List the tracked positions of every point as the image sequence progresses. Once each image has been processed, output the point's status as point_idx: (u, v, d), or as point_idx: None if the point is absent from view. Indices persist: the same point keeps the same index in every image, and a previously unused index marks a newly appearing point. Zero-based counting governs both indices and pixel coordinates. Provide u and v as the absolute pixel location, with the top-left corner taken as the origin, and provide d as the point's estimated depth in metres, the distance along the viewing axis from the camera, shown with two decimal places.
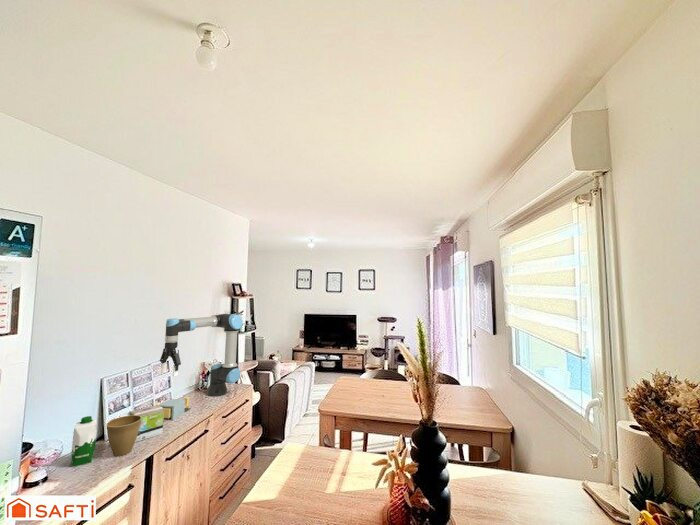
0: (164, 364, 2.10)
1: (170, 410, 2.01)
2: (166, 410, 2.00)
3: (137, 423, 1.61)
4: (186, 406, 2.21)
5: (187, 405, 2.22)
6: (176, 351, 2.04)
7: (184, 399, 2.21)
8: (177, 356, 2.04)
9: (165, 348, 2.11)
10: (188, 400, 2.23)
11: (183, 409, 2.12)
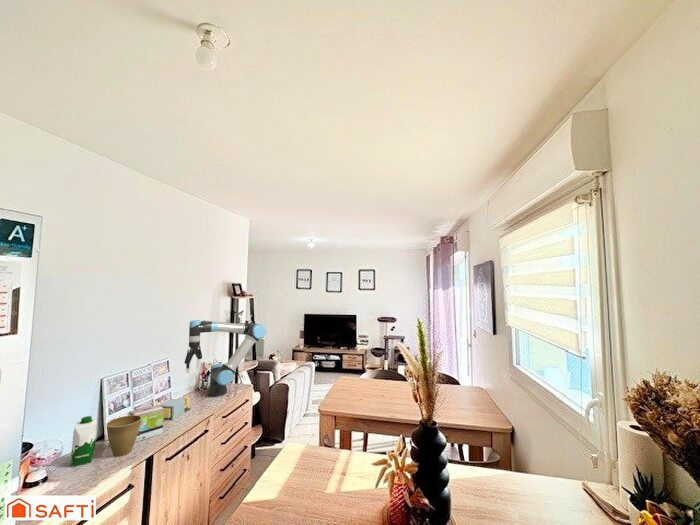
0: (198, 360, 2.38)
1: (170, 410, 2.01)
2: (166, 410, 2.00)
3: (137, 423, 1.61)
4: (186, 406, 2.21)
5: (187, 405, 2.22)
6: (188, 350, 2.25)
7: (184, 399, 2.21)
8: (187, 355, 2.24)
9: None
10: (188, 400, 2.23)
11: (183, 409, 2.12)
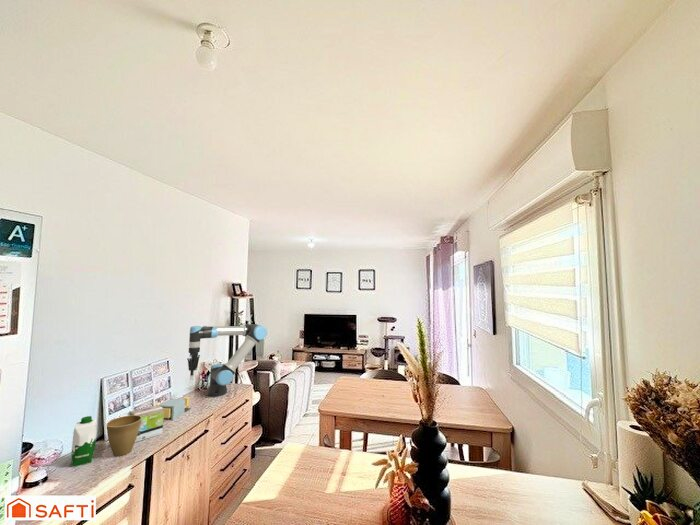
0: None
1: (170, 410, 2.01)
2: (166, 410, 2.00)
3: (137, 423, 1.61)
4: (186, 406, 2.21)
5: (187, 405, 2.22)
6: (188, 359, 2.26)
7: (184, 399, 2.21)
8: (189, 363, 2.27)
9: (197, 354, 2.38)
10: (188, 400, 2.23)
11: (183, 409, 2.12)
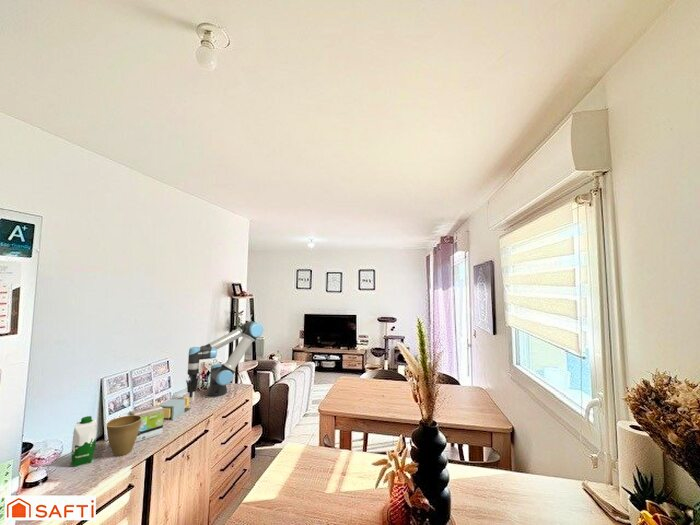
0: None
1: (170, 410, 2.01)
2: (166, 410, 2.00)
3: (137, 423, 1.61)
4: (186, 406, 2.21)
5: (187, 405, 2.22)
6: (187, 381, 2.25)
7: (184, 399, 2.21)
8: (188, 385, 2.26)
9: (196, 375, 2.37)
10: (188, 400, 2.23)
11: (183, 409, 2.12)
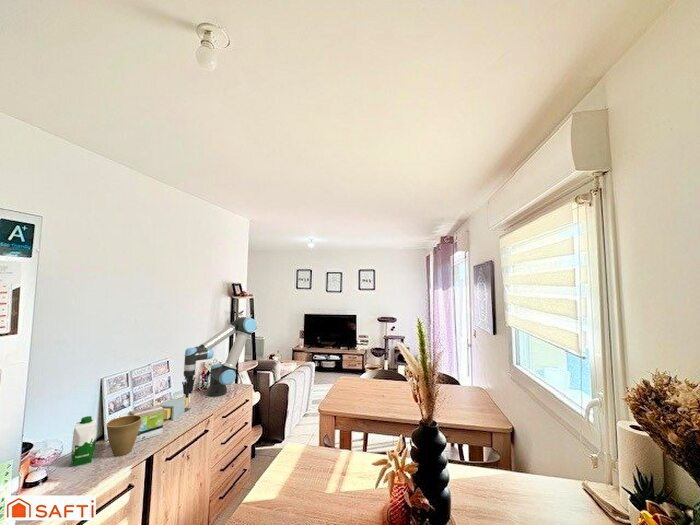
0: None
1: (169, 411, 2.00)
2: (164, 411, 1.99)
3: (137, 423, 1.61)
4: (185, 407, 2.19)
5: (186, 406, 2.20)
6: (183, 383, 2.20)
7: None
8: (184, 387, 2.21)
9: None
10: (187, 401, 2.22)
11: (183, 409, 2.12)
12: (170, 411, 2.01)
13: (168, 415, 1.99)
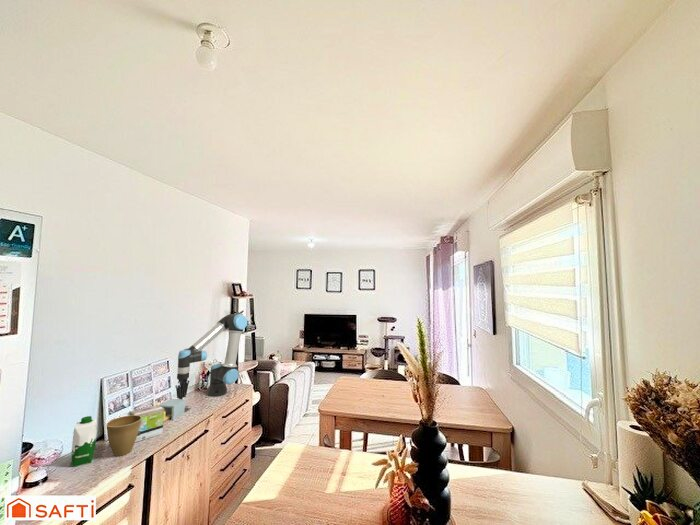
0: None
1: None
2: None
3: (137, 423, 1.61)
4: None
5: None
6: (176, 387, 2.13)
7: None
8: (178, 391, 2.13)
9: (187, 380, 2.24)
10: None
11: (183, 409, 2.12)
12: None
13: None
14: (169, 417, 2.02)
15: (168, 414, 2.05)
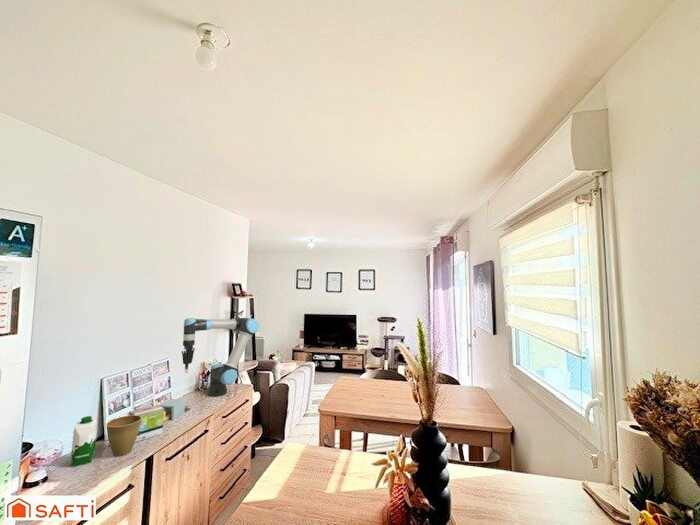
0: None
1: None
2: None
3: (137, 423, 1.61)
4: None
5: None
6: (182, 352, 2.19)
7: None
8: (184, 356, 2.20)
9: (192, 348, 2.31)
10: None
11: (183, 409, 2.12)
12: None
13: None
14: (169, 417, 2.02)
15: (168, 414, 2.05)
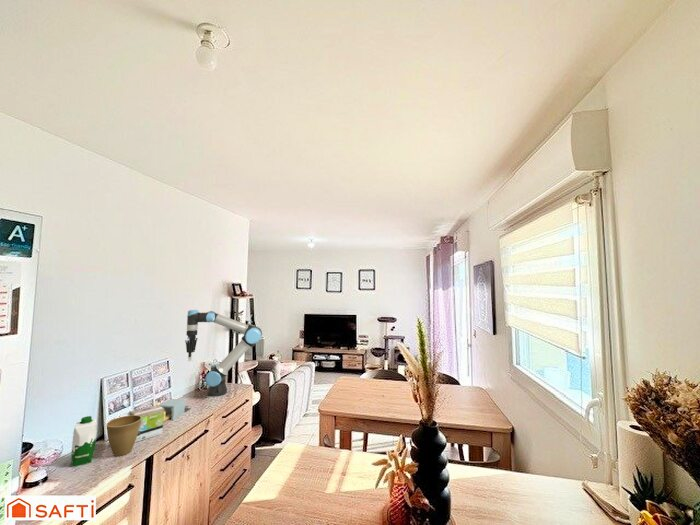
0: None
1: None
2: None
3: (137, 423, 1.61)
4: None
5: None
6: (186, 341, 2.34)
7: None
8: (187, 345, 2.35)
9: (195, 338, 2.46)
10: None
11: (183, 409, 2.12)
12: None
13: None
14: (169, 417, 2.02)
15: (168, 414, 2.05)
